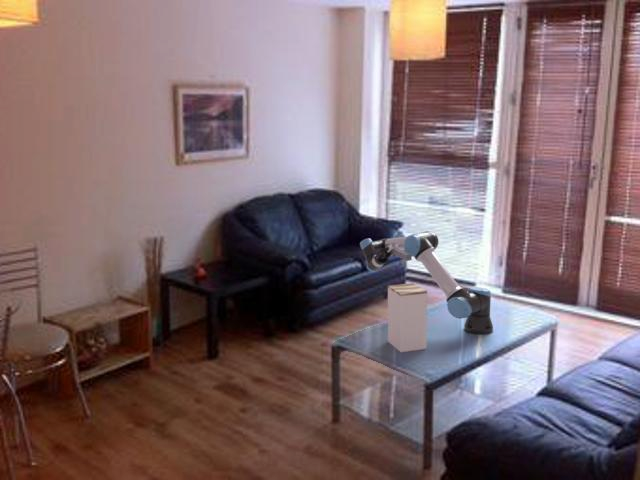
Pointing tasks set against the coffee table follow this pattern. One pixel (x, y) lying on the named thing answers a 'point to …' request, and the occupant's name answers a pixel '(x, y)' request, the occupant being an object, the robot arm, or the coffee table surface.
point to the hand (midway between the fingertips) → (394, 246)
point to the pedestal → (407, 317)
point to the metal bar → (401, 253)
